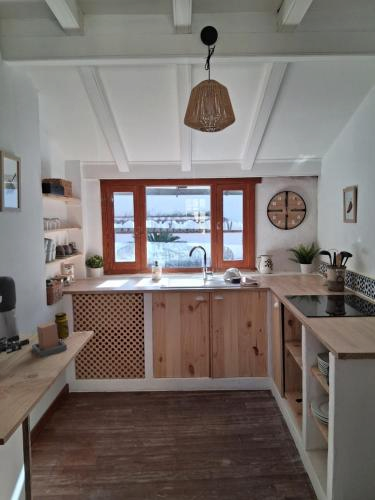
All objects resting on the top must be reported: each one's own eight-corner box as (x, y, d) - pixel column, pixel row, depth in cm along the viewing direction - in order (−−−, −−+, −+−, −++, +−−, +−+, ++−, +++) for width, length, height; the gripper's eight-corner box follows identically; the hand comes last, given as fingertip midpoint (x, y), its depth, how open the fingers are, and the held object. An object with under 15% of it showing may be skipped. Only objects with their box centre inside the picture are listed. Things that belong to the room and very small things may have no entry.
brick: (39, 349, 167) (36, 326, 166) (53, 344, 172) (51, 322, 171) (44, 352, 164) (42, 328, 163) (59, 346, 170) (56, 323, 168)
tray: (32, 349, 170) (32, 344, 170) (58, 342, 177) (58, 337, 177) (39, 357, 160) (38, 352, 160) (66, 349, 167) (66, 345, 167)
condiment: (72, 336, 184) (70, 313, 182) (56, 341, 178) (53, 317, 176) (65, 333, 189) (63, 310, 187) (49, 338, 183) (47, 315, 182)
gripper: (-9, 347, 141) (31, 333, 154) (-25, 340, 150) (14, 327, 163) (-7, 365, 142) (33, 351, 155) (-23, 357, 151) (16, 344, 164)
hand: (23, 339), depth 159 cm, fingers open, 8 cm apart
